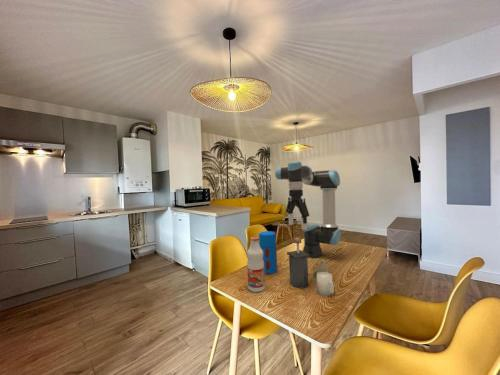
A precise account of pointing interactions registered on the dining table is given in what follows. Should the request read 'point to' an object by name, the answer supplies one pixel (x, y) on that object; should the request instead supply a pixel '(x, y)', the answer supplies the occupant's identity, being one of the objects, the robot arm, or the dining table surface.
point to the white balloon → (325, 284)
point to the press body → (298, 269)
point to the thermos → (268, 251)
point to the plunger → (297, 240)
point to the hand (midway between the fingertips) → (297, 226)
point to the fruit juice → (255, 266)
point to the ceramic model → (320, 270)
